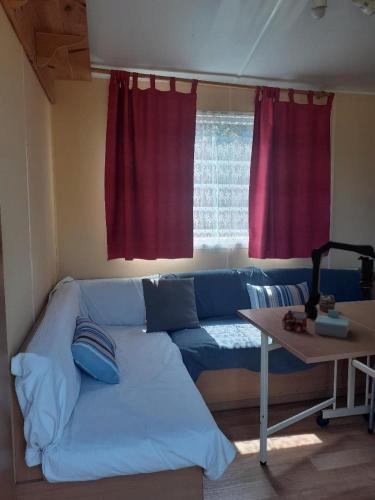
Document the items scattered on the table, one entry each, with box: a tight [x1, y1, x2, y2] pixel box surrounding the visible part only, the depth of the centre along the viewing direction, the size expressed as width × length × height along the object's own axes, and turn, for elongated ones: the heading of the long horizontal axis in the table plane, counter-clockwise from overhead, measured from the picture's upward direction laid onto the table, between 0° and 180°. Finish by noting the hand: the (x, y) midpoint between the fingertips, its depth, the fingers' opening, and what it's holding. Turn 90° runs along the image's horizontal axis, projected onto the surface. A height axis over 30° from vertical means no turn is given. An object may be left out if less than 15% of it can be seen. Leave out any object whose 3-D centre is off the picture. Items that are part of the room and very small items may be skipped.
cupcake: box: [318, 293, 336, 313], centre depth 217 cm, size 10×10×10 cm
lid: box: [314, 309, 350, 327], centre depth 174 cm, size 14×12×5 cm
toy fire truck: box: [281, 309, 308, 333], centre depth 178 cm, size 7×12×10 cm, turn 56°
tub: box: [314, 322, 350, 339], centre depth 174 cm, size 14×12×6 cm
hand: (365, 297), depth 187 cm, fingers open, 9 cm apart
